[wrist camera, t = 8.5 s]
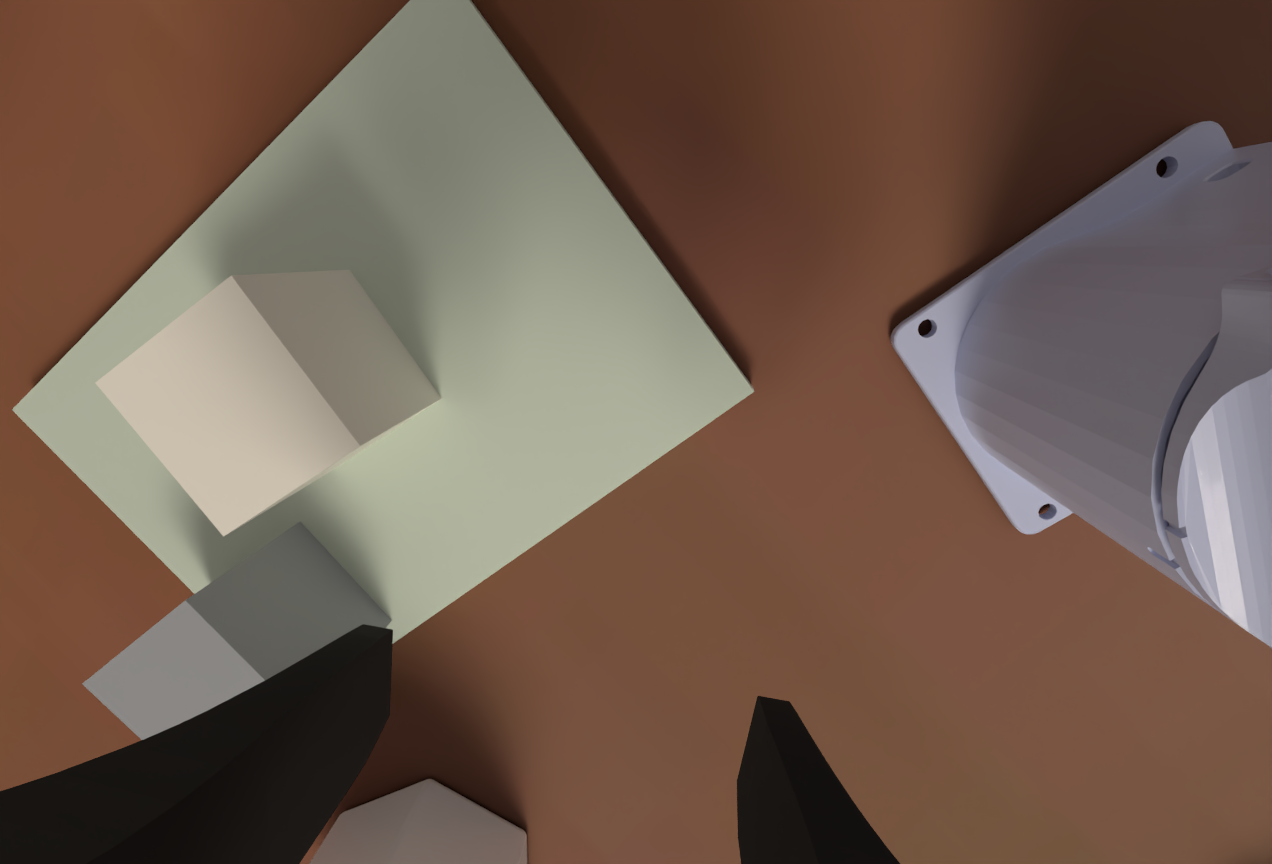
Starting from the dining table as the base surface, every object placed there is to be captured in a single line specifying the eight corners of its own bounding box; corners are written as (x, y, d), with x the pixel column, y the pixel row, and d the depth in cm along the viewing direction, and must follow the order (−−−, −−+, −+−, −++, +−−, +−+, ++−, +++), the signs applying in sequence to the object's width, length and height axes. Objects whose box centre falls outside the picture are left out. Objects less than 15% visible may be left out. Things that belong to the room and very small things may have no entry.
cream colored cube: (349, 269, 19) (231, 275, 14) (441, 398, 19) (360, 446, 15) (240, 350, 20) (95, 382, 15) (332, 470, 20) (223, 536, 16)
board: (457, -19, 17) (390, -97, 13) (751, 384, 20) (765, 416, 16) (41, 402, 22) (-97, 435, 18) (319, 687, 24) (249, 769, 20)
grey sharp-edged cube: (300, 521, 21) (185, 600, 16) (391, 620, 22) (308, 723, 17) (213, 590, 22) (82, 683, 17) (304, 682, 23) (202, 796, 18)
